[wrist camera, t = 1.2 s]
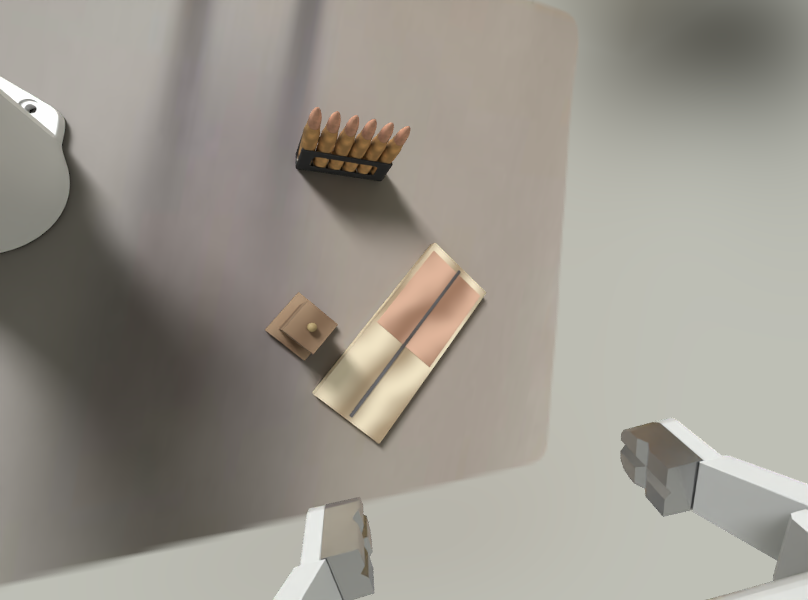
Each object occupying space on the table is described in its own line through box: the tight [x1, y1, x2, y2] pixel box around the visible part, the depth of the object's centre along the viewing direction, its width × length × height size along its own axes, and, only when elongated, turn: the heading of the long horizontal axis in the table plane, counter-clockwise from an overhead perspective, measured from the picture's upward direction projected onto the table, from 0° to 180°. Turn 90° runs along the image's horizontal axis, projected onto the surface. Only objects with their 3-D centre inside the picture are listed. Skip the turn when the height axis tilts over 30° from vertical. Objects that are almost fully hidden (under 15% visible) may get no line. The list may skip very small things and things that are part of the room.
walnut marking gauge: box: [265, 292, 338, 361], centre depth 38 cm, size 6×6×11 cm
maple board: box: [312, 243, 486, 444], centre depth 47 cm, size 10×24×2 cm, turn 139°
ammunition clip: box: [296, 107, 410, 181], centre depth 40 cm, size 11×2×12 cm, turn 88°
